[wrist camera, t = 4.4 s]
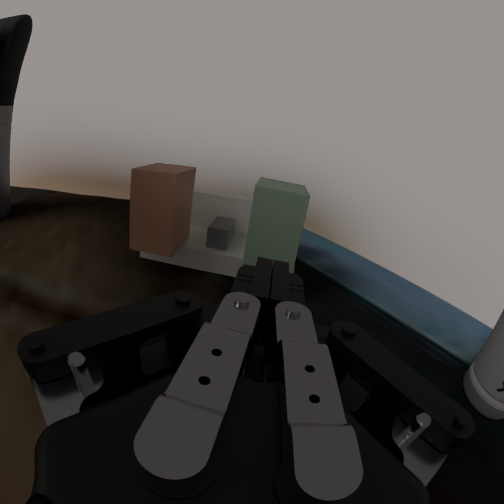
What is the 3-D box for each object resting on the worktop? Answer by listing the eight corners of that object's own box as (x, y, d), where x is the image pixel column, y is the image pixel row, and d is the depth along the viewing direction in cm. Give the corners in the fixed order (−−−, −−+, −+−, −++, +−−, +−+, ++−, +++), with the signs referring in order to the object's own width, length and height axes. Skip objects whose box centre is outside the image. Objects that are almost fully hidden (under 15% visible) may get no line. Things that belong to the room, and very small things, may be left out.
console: (140, 257, 26) (141, 198, 24) (169, 231, 34) (172, 184, 31) (289, 287, 26) (304, 226, 24) (288, 254, 33) (299, 206, 31)
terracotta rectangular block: (129, 248, 23) (131, 168, 20) (153, 231, 27) (157, 162, 25) (170, 257, 23) (176, 173, 20) (189, 237, 27) (196, 167, 25)
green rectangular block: (241, 272, 22) (255, 185, 20) (248, 249, 27) (260, 177, 24) (290, 281, 22) (310, 196, 20) (289, 256, 27) (304, 185, 24)
